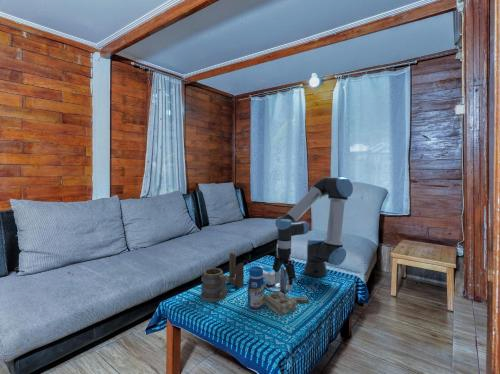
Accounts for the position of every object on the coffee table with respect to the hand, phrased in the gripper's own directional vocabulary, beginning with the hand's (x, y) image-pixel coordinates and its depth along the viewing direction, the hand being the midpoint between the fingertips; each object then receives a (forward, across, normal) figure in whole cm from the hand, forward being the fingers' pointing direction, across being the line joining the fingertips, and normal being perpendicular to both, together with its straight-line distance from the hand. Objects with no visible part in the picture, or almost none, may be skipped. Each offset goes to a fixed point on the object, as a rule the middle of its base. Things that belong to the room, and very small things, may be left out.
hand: (283, 286), depth 153 cm
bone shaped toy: (+4, -18, 0) cm, 19 cm away
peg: (+4, 0, 0) cm, 4 cm away
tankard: (+4, -13, -35) cm, 38 cm away
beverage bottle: (+4, +5, -22) cm, 23 cm away
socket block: (+4, +10, -11) cm, 15 cm away
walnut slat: (+4, +12, +1) cm, 13 cm away
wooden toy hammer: (+4, -24, -17) cm, 30 cm away
